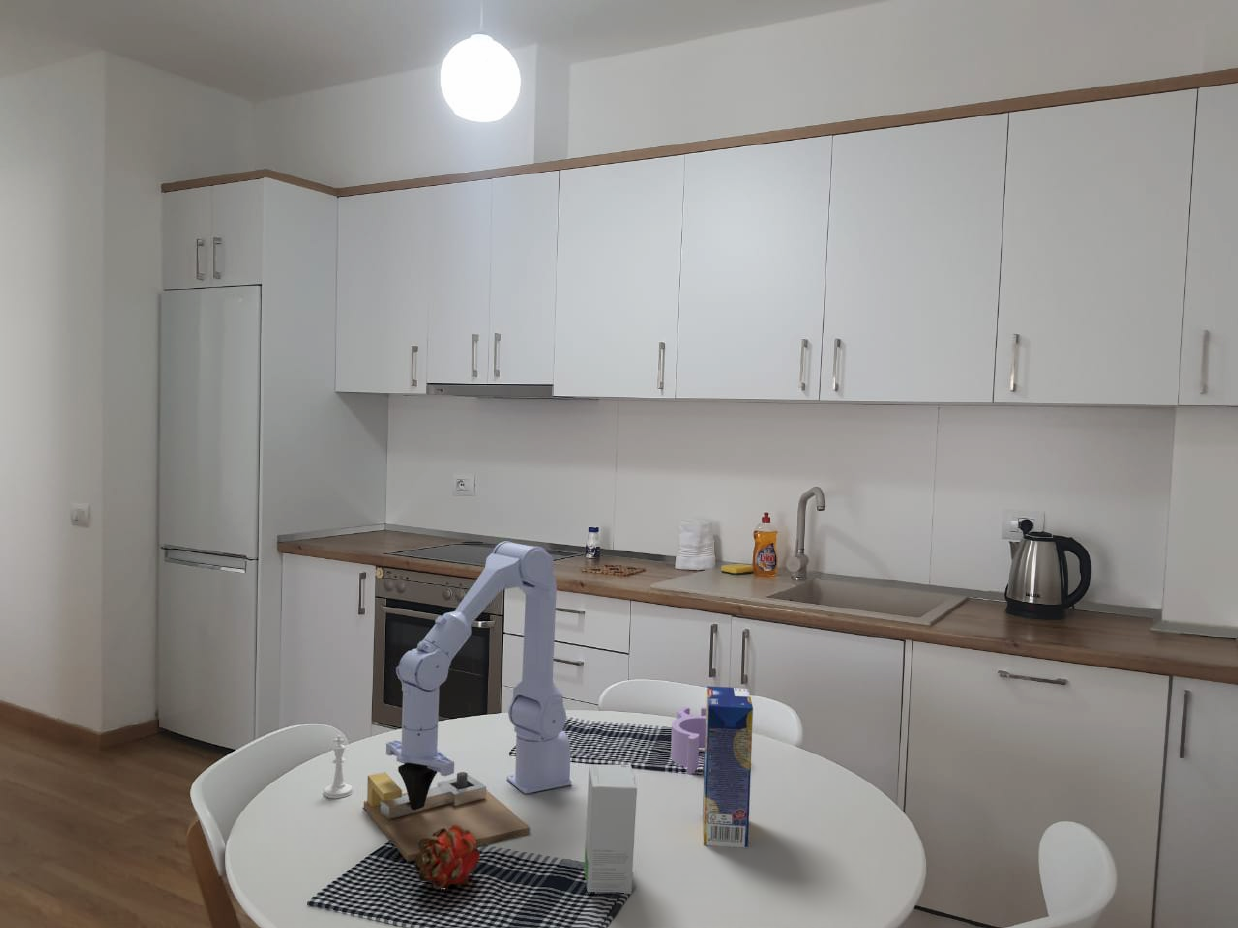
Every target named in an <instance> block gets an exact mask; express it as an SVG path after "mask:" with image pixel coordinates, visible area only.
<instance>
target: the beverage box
mask: <svg viewBox="0 0 1238 928" xmlns="http://www.w3.org/2000/svg"><path fill="white" fill-rule="evenodd" d="M751 698H752V697H751V693H750V689H749V687H747V688H746V687H745V688H744V687H730V686H729V687H728V686H727V687H726V686H710V685H709V686H706V707H707V708H706V737H705V752H704V766H703V768H704V769H703V771H704V773H703V795H702V796H703V803H702V829H703V830H702V832H703V845H704V846H717V847H718V846H719V847H729V848H731V847H733V848H746V849H747V848H749V833H750V832H749V830H750V827H749V826H750V801H751V798H750V797H751V776H752V774H751V773H752V771H751V769H752V749H753V748H752V745H753V723H754V722H753V716H754V713H753V712H754V706H753V703H752V699H751Z"/></svg>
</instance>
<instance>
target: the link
mask: <svg viewBox="0 0 1238 928" xmlns="http://www.w3.org/2000/svg"><path fill="white" fill-rule="evenodd" d="M486 790H487V785H486V784H483V783H482V782H480V781H479V780H477V779H476V778H474V777H473V776H471V775H469V774H468V780H467V788H463V789H459V790H458V789H457V777H456V778H451V779H448V780H447V779H446V780H444V781H440V782H437V786H435V787H430V788H429V791H428V794H427V797H426V801H425V805H424V807H423V808H420V809H418V810H412V809H411V806H410V801H409V797H408V794H406V795H402V797H401V798H396V799H391V800H386V801H383V800H382V801H381V814H383V815H384V816H385V817H386V818H388V819H392V818H396V817H400V816H403V815H407V814H411V813H415V812H419V811H422V810H426V809H430V808H434V807H438V806H442V805H445V804H449V803H451V804H452V805H454V806H458V805H461V804H465V803H469V802H473V801H476V800H480V799H484V798H486Z"/></svg>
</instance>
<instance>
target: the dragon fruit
mask: <svg viewBox="0 0 1238 928" xmlns="http://www.w3.org/2000/svg"><path fill="white" fill-rule="evenodd" d="M475 844H476V841H475V837H474V835H473V834H472V832H470V831H469V830H468V829H467V830H464V831H463V828H462V827H460V826H459V825H453V826H452V827H450V828H449V830H447V829H445V828H442V829H440V830H438V831H436V832H434V833H433V836H432V837H430V838H425V839H421V840H420V841H419V842H418V846H419V850H420V852H419V853H418V855H417V856H416V858H415V859H416V860H415V861H414V863H413V868H414V871H416V872H418V874H417V875H418V876H417V877H418V879H419V881H420V882H426V883H430V882H431V883H432V887H433V889H438V890H439V889H441V888H442V887H443V888H445V890H446V889H448V888H449V886H450V885H455V886H458V887H459V886H462V885H463V887H466V886H467V885H468V884H469V880H470V878H469V874H470V873H471V872H472V870H473V869H475V868H476V867H477V865H478V863H479V861H480V855H481V854H480V850H479V848H478V846H476V845H475Z"/></svg>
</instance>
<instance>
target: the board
mask: <svg viewBox="0 0 1238 928" xmlns="http://www.w3.org/2000/svg"><path fill="white" fill-rule="evenodd" d="M468 775H469V774H468V772H464V771H461V772H460V771H459V772H457V774H456V778H457V789H458V790H459V789H463V788H467V780H468ZM406 794H408V793H407V792H405V793H402V795H406ZM363 808H364V810H365V811H366V812H367V813H368V815H369V816H370V817H371V819H372V820H373V821H374V822H375V823H376V824H377V826H378V827H379V828H380V829H381V831H382V832H383V833H384V835H385V836H386V837H387V838H388V839H389V841H390V842H391V843H392V844H393V846H395V848H396V849H397V851H398V852H399V853H400V855H402V856H403V858H404V859H405V860H406V862H407V863H409V862H416V859H415V858H416V856H417V855H418V853H419V852H420V850H419V846H418V842H419V841H420V840H421V839H425V838H430V837H432V836H433V833H434V832H436V831H438V830H440V829H442V828H445V829H447V830H449V828H450V827H452V826H453V825H459V826H460V827H462V828H463V831H464V830H467V829H468V830H469V831H470V832H472V834H473V835H474V837H475V841H476V844H475V845H476V846H477V847H478V846H479V847H480V846H482V845H487V844H490V843H491V844H492V843H496V842H499V841H505V840H508V839H513V838H517V837H518V838H519V837H520V836H525V835H530V834H531V826H529V825H528V824H527V823H526V822H525V821H524V820H523V819H522V818H520V817H519V816H517V815H516V814H515V812H513V811H512V810H511V809H510V808H509V807H507V806H506V805H505V804H504V803H503V802H502V801H500V800H499V799H498V798H497V797H495V796H494V794H492V793H491V792H489V791H488V789H486V798H484V799H480V800H476V801H473V802H469V803H465V804H461V805H458V806H454V805H452V804H451V803H449V804H445V805H442V806H438V807H434V808H430V809H426V810H422V811H419V812H415V813H411V814H407V815H403V816H400V817H396V818H392V819H388V818H386V817H385V816H384V815H383V814H381V805H378V806H372V807H371V805H370V804H369V803H368V802H367V800H365V801H363Z"/></svg>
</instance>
